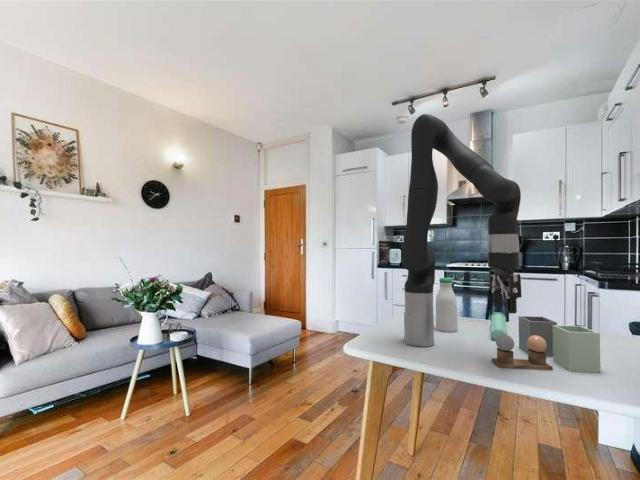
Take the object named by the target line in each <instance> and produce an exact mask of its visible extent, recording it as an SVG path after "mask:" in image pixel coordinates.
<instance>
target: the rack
mask: <svg viewBox="0 0 640 480" xmlns="http://www.w3.org/2000/svg"><path fill="white" fill-rule="evenodd" d="M527 356H528V357H527V359H523V358H521V359H520V358H514V351H513V350H510V351H503V350H501V349H499V348H498V347H496V358H495V357H492V358H491V361H492V363H494V364H495V366H496V367H498V368H499V369H500V368H501V369H519V370H520V369H521V370H539V371H540V370H542V371H543V370H544V371H554V369H553V366H552V365H550V364H549V363H547V356H546V353H545V352H534V351H532V350H531V349H528V353H527Z"/></svg>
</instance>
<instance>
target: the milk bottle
mask: <svg viewBox="0 0 640 480" xmlns="http://www.w3.org/2000/svg"><path fill="white" fill-rule="evenodd" d="M452 285H453V278H452V277H451V278H450V277H440V278H439V290H438V292H437V294H436V296H435V329H436V330H437V331H440V332H446V333H453V332H457V331H458V303H457V302H458V301H457V297H456V294H455V292H454V290H453V287H452Z"/></svg>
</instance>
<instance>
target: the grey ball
mask: <svg viewBox="0 0 640 480" xmlns="http://www.w3.org/2000/svg"><path fill="white" fill-rule="evenodd" d="M495 344H496V345H495V346H496V348H499V349H501V350H503V351H513V348H514V347H515V341H514V339H513V337H511V335H508V334H507V335H506V334H501V335H499V336H498V337H497V338H496V340H495Z"/></svg>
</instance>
